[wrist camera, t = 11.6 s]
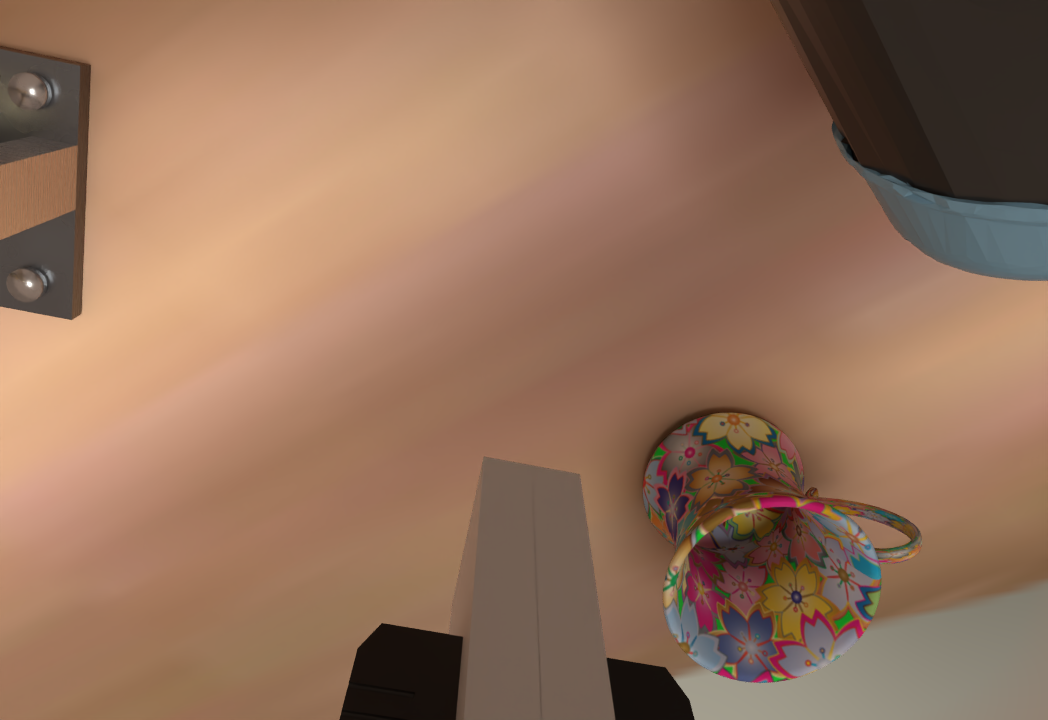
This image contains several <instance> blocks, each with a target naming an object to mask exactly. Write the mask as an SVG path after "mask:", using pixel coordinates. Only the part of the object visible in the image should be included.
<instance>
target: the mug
mask: <svg viewBox="0 0 1048 720" xmlns="http://www.w3.org/2000/svg"><path fill="white" fill-rule="evenodd" d="M803 490H804V471H803V465H802V461H801V458H800V456H799V453H798V451H797V449H796V448H795V446H794V445H793V443H792V442H791V440H790V439H789V438H788V437H787V436H786V435H785V434H784V433H783V432H782V431H781V430H779V429H778V428H777V427H776V426H774V425H772V424H771V423H769V422H767V421H765V420H763V419H761V418H758V417H755V416H751V415H747V414H742V413H716V414H711V415H706V416H703V417H700V418H697V419H694V420H692V421H690V422H688V423H686V424H684V425H682V426H681V427H679V428H678V429H676V430H675V431H674V432H672V433H671V434H670V435H669V436H668V437H666V438H665V439H664V441H663V442H662V443H661V444H660V445H659V446H658V448H657V449H656V450H655V452H654V454H653V455H652V457H651V459H650V461H649V463H648V466H647V469H646V472H645V476H644V481H643V500H644V505H645V509H646V512H647V514H648V516H649V519H650V520H651V522H652V524H653V525H654V527H655V528H656V529H657V531H658V532H659V533H660V534H661V535H662V536H663V537H664V538H665V539H666V540H668V541H669V542H670V543H672V544H673V545H674V546H675V554H674V556H673V558H672V560H671V562H670V565H669V567H668V570H667V573H666V577H665V581H664V587H663V609H664V614H665V618H666V621H667V624H668V627H669V629H670V632H671V634H672V636H673V637H674V639H675V640H676V642H677V643H678V645H679V646H680V647H681V649H682V650H683V651H684V652H685V653H686V654H687V655H688V656H689V657H690V658H692V659H693V660H694V661H695V662H696V663H698V664H699V665H701V666H702V667H704V668H706V669H708V670H709V671H711V672H713V673H716V674H718V675H721V676H723V677H727V678H730V679H734V680H739V681H746V682H756V683H763V682H764V683H765V682H778V681H785V680H790V679H794V678H797V677H801V676H804V675H807V674H810V673H812V672H814V671H817V670H819V669H821V668H822V667H825V666H826V665H828V664H830V663H831V662H833V661H835V660H836V659H838V658H839V657H840V656H841V655H843V654H844V653H845V652H846V651H848V650H849V649H850V648H851V647H852V646H853V645H854V644H855V643H856V642H857V640H858V639H859V638H860V637H861V636H862V634H863V633H864V632H865V630H866V629H867V627H868V625H869V624H870V622H871V620H872V618H873V616H874V614H875V611H876V608H877V606H878V602H879V598H880V592H881V570H880V564H892V563H899V562H903V561H906V560H908V559H911V558H912V557H914V556H915V555H917V554H918V552H919V551H920V549H921V547H922V536H921V533H920V531H919V529H918V528H917V527H916V526H915V525H914V524H913V523H911V522H910V521H909V520H907V519H905V518H903V517H901V516H899V515H897V514H895V513H893V512H890V511H887V510H885V509H882V508H879V507H875V506H872V505H868V504H864V503H859V502H854V501H848V500H841V499H832V498H820V497H818V490H817V489H816V488H814V487H812V488H810V489H809V490H808V491H807V492H806V494H805V495H804V494H803ZM845 514H848V515H853V516H858V517H863V518H866V519H870V520H873V521H877V522H880V523H883V524H885V525H888V526H890V527H892V528H895V529H897V530H899V531H900V532H902V533H904V534H905V535H907V536H908V537H909V538H910V539H911V541H910V542H908V543H907V544H905V545H902V546H899V547H895V548H886V549H879V548H874V547H873V545H872V543H871V541H870V540H869V538H868V537H867V535H866V534H865V533H864V531H863V530H862V529H861V528H860V527H859V526H858V525H857V524H856V523H855V522H854V521H853V520H852V519H851V518H849V517H848V516H847V515H845Z"/></svg>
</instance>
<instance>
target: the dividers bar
mask: <svg viewBox="0 0 1048 720" xmlns="http://www.w3.org/2000/svg"><path fill="white" fill-rule="evenodd" d="M77 150H78V145H74V144H69V143H64V142H59V141H54V140H50V139H45V138H40V137H35V136H31V137H26V138H21V139H17V140H12V141H8V142H3V143H0V240H2V239H4V238H7V237H9V236H12V235H14V234H17V233H19V232H21V231H24V230H26V229H29V228H31V227H34V226H36V225H39V224H41V223H44V222H46V221H49V220H51V219H54V218H56V217H59V216H61V215H63V214H66V213H68V212H71V211H73V210H75V209H76V180H77Z"/></svg>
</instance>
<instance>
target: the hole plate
mask: <svg viewBox="0 0 1048 720" xmlns="http://www.w3.org/2000/svg"><path fill="white" fill-rule="evenodd" d="M90 66H91V65H88V64H83V63H78V62H74V61H69V60H64V59H59V58H55V57H50V56H45V55H40V54H36V53H31V52H26V51H21V50H17V49H12V48H7V47H3V46H0V143H3V142H8V141H12V140H17V139H21V138H26V137H31V136H35V137H40V138H45V139H50V140H54V141H59V142H64V143H69V144H74V145H78V150H77V180H76V209H75V210H73V211H71V212H68V213H66V214H63V215H61V216H59V217H56V218H54V219H51V220H49V221H46V222H44V223H41V224H39V225H36V226H34V227H31V228H29V229H26V230H24V231H21V232H19V233H17V234H14V235H12V236H9V237H7V238H4V239H2V240H0V306H1V307H6V308H11V309H17V310H22V311H27V312H33V313H38V314H43V315H49V316H54V317H59V318H64V319H70V320H72V319H74V318H75V317H77V316H79V315H80V314H81V306H82V280H83V253H84V226H85V199H86V173H87V146H88V119H89V93H90Z"/></svg>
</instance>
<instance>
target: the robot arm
mask: <svg viewBox="0 0 1048 720" xmlns="http://www.w3.org/2000/svg"><path fill="white" fill-rule="evenodd" d="M770 1H771V3H772V5H773V7H774V9H775V11H776V13H777V15H778V17H779V18H780V20H781V22H782V24H783V26H784V28H785V30H786V32H787V34H788V35H789V37H790V39H791V41H792V43H793V45H794V47H795V49H796V51H797V53H798V54H799V56H800V58H801V60H802V62H803V64H804V66H805V68H806V70H807V71H808V73H809V75H810V77H811V79H812V81H813V83H814V85H815V87H816V89H817V90H818V92H819V94H820V96H821V98H822V100H823V102H824V104H825V106H826V107H827V109H828V111H829V113H830V115H831V117H832V119H833V124H832V132H833V136H834V138H835V141H836V143H837V145H838V147H839V149H840V151H841V153H842V155H843V156H844V158H845V159H846V160H847V161H848V163H849V164H850V165H852V166H853V167H854V168H855V169H856V170H857V171H858V173H859V174H860V175H861V176H863V177H864V178H865V179H866V181H867V183H868V184H869V186H870V188H871V189H872V191H873V193H874V195H875V196H876V198H877V200H878V201H879V203H880V205H881V206H882V208H883V210H884V212H885V213H886V215H887V217H888V218H889V220H890V222H891V223H892V225H893V226H894V228H895V229H896V230H897V231H898V232H899V233H900V234H901V235H902V236H903V237H904V239H906V240H908V241H910V242H911V243H912V244H913V245H914V246H916V247H917V248H918V249H919V250H921V251H922V252H923V253H924V254H925V255H927V256H930V257H932V258H933V259H935V260H936V261H938V262H940V263H943V264H945V265H948V266H951V267H954V268H957V269H960V270H963V271H966V272H970V273H974V274H978V275H983V276H989V277H995V278H1003V279H1013V280H1028V281H1048V0H770ZM339 720H694V716H693V712H692V708H691V705H690V701H689V699H688V698H687V696H686V695H685V693H684V692H683V691H682V689H681V688H680V687H679V685H678V684H677V682H676V681H675V680H674V678H673V677H672V676H671V674H670V673H669V672H668V670H667V669H666V668H665V667H659V666H653V665H647V664H641V663H635V662H629V661H623V660H617V659H611V658H606V651H605V644H604V638H603V631H602V624H601V617H600V610H599V603H598V596H597V589H596V582H595V575H594V568H593V561H592V554H591V548H590V541H589V534H588V527H587V520H586V513H585V506H584V499H583V492H582V485H581V478H580V474H576V473H571V472H565V471H560V470H554V469H549V468H543V467H538V466H532V465H527V464H521V463H516V462H510V461H505V460H500V459H494V458H489V457H484V458H483V462H482V467H481V472H480V476H479V481H478V486H477V490H476V495H475V500H474V504H473V509H472V514H471V518H470V523H469V528H468V532H467V537H466V542H465V546H464V551H463V556H462V560H461V565H460V570H459V574H458V579H457V584H456V589H455V593H454V598H453V603H452V609H451V618H450V627H449V634H444V633H438V632H432V631H426V630H420V629H414V628H408V627H402V626H396V625H390V624H384V623H382V624H381V625H380V626H379V627H378V628H377V629H376V630H375V631H374V632H373V633H372V634H371V635H370V636H369V637H368V638H367V639H366V640H365V641H364V642H363V643H362V645H361V646H360V647H359V648H358V649H357V653H356V657H355V661H354V665H353V669H352V673H351V676H350V680H349V685H348V688H347V692H346V696H345V700H344V704H343V708H342V712H341V716H340V719H339Z"/></svg>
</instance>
